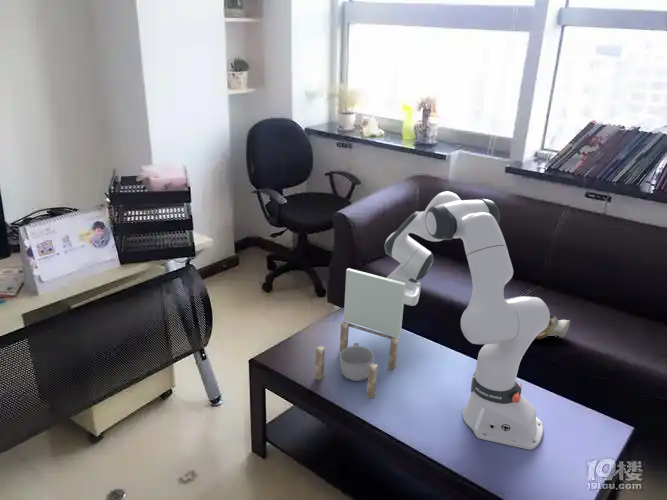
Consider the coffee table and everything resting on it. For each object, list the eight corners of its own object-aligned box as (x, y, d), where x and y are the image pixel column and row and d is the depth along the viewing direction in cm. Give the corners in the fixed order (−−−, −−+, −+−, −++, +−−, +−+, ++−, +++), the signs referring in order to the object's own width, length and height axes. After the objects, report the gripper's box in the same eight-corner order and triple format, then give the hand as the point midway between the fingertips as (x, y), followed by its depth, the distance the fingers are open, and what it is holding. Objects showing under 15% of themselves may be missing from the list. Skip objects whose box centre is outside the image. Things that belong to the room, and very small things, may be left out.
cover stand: (396, 366, 191) (399, 337, 187) (372, 398, 175) (374, 367, 171) (342, 348, 199) (344, 320, 195) (315, 378, 183) (316, 348, 179)
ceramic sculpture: (574, 324, 204) (531, 322, 205) (571, 345, 207) (528, 343, 209) (567, 309, 213) (525, 308, 215) (563, 329, 217) (522, 328, 218)
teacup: (369, 388, 180) (371, 366, 177) (335, 382, 182) (336, 361, 179) (375, 363, 192) (377, 342, 189) (343, 358, 194) (345, 337, 191)
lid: (398, 337, 186) (402, 332, 189) (404, 284, 178) (407, 281, 181) (343, 320, 194) (347, 316, 197) (346, 269, 187) (350, 266, 189)
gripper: (370, 269, 208) (354, 284, 196) (424, 283, 199) (410, 299, 188) (369, 285, 210) (353, 301, 199) (423, 299, 202) (408, 316, 190)
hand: (381, 300), depth 193 cm, fingers closed
